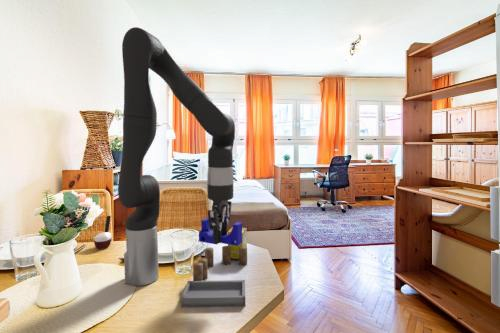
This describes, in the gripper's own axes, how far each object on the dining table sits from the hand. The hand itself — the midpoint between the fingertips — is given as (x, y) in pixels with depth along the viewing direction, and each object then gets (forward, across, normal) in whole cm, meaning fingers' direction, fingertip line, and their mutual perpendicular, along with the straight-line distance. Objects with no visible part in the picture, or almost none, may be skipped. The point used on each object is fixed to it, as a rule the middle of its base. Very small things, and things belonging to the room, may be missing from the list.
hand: (220, 239), depth 81 cm
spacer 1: (+15, +1, +8) cm, 17 cm away
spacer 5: (+15, +18, -2) cm, 23 cm away
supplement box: (+15, +22, +1) cm, 27 cm away
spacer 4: (+15, +16, +4) cm, 23 cm away
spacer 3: (+15, +13, +9) cm, 22 cm away
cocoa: (+16, +18, +58) cm, 63 cm away
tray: (+15, -5, 0) cm, 16 cm away
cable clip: (+1, 0, 0) cm, 1 cm away
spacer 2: (+15, +4, +8) cm, 18 cm away
